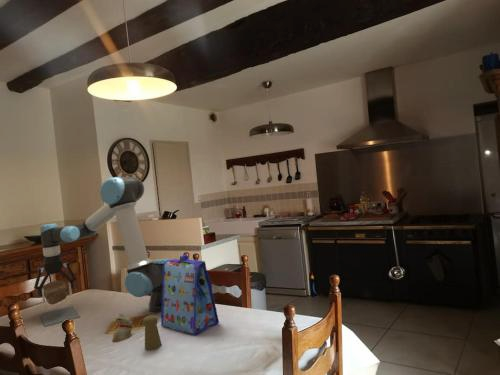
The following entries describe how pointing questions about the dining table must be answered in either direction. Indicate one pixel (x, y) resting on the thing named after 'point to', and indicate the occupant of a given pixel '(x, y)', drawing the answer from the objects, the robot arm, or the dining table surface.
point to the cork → (151, 333)
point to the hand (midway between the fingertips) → (57, 298)
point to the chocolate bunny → (122, 328)
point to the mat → (59, 315)
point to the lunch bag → (187, 296)
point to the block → (55, 291)
